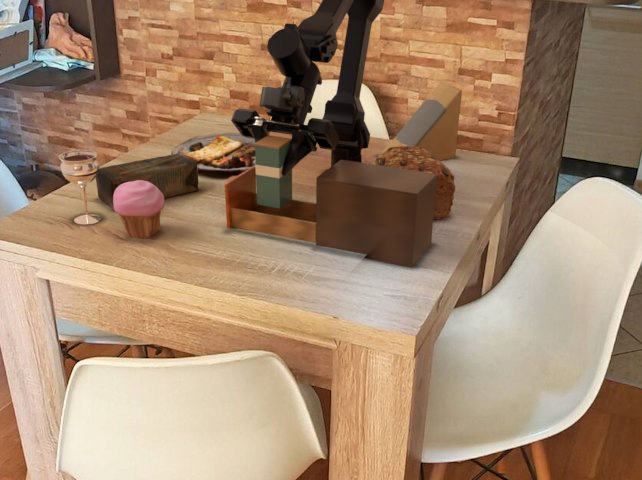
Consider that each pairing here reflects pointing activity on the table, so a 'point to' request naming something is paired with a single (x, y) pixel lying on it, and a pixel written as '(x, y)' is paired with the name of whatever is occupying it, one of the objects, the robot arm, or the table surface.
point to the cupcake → (139, 207)
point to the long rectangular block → (272, 172)
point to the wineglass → (81, 176)
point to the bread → (425, 163)
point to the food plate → (220, 152)
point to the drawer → (267, 211)
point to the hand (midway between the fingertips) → (270, 172)
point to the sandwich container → (434, 123)
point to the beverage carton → (150, 176)
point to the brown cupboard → (375, 211)
